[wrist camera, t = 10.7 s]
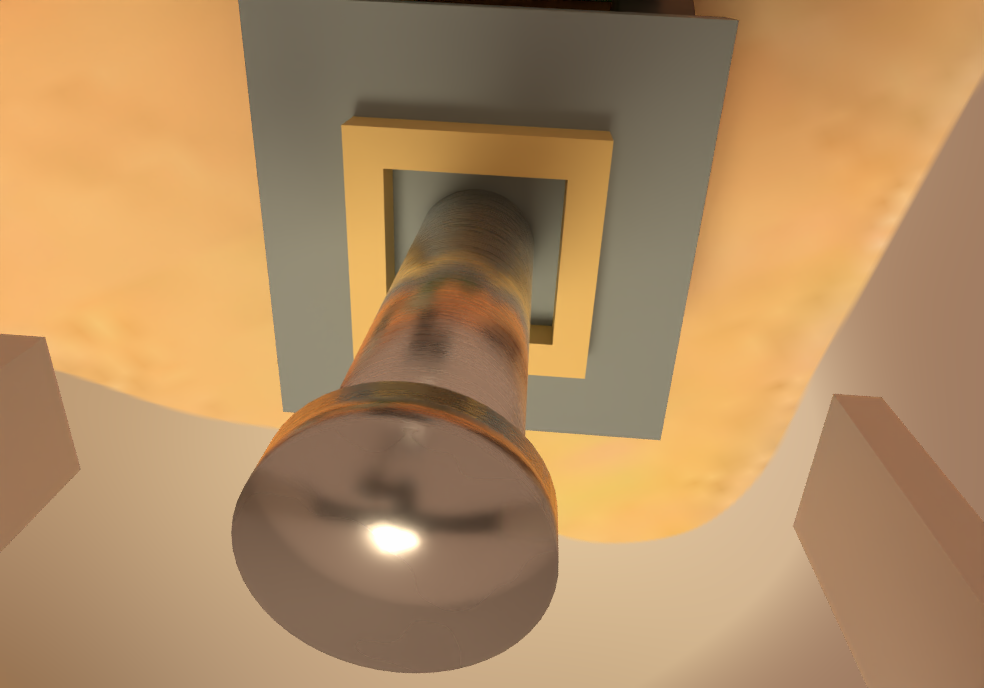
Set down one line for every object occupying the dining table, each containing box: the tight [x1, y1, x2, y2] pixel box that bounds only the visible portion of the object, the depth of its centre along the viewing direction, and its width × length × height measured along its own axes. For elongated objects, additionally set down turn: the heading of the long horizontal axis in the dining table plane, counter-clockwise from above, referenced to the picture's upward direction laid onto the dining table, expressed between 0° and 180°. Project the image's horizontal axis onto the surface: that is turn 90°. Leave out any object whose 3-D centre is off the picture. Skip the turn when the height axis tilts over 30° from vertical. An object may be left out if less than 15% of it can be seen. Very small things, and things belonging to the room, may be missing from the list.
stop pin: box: [232, 189, 558, 673], centre depth 14 cm, size 4×4×12 cm
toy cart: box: [238, 0, 739, 440], centre depth 22 cm, size 13×12×9 cm
